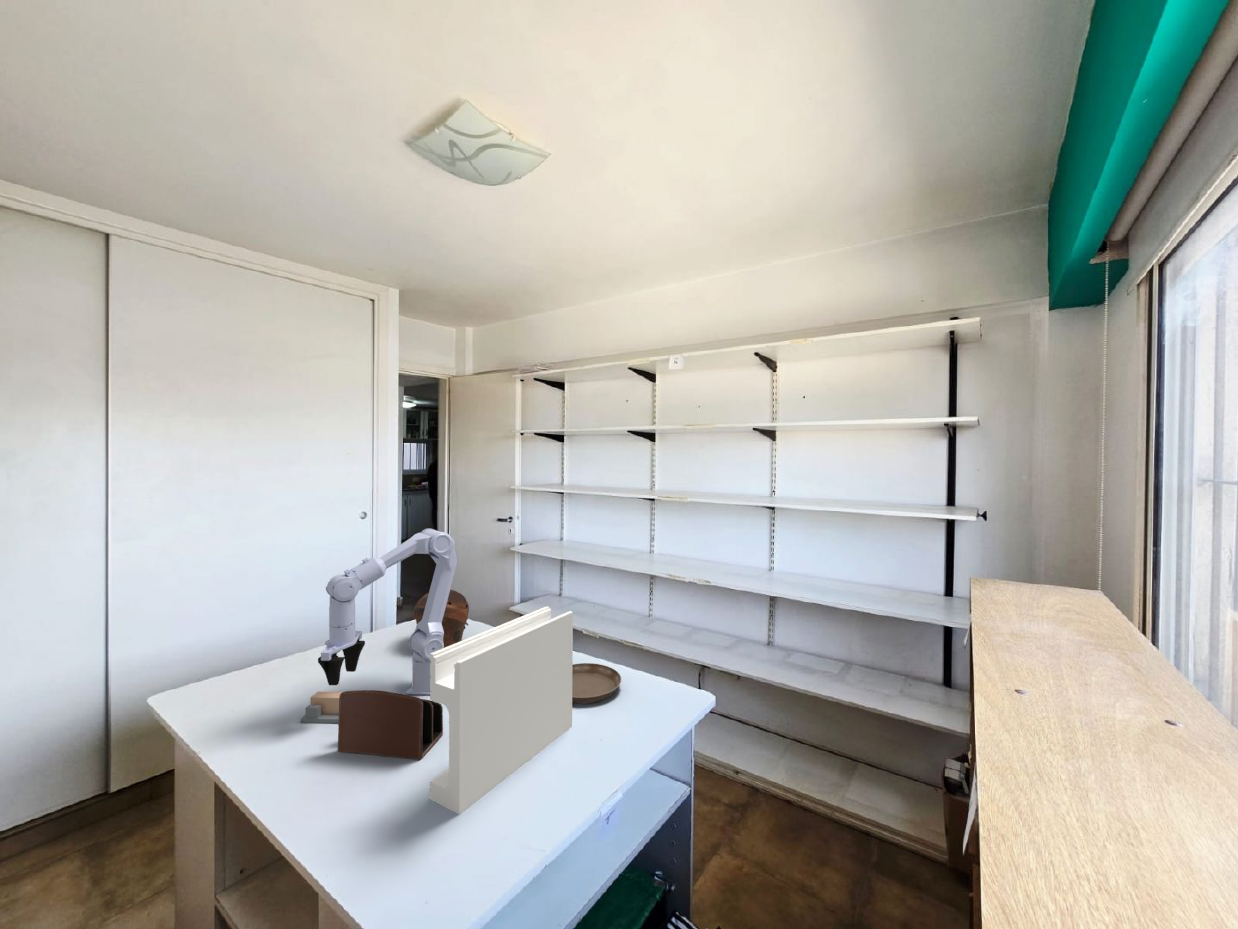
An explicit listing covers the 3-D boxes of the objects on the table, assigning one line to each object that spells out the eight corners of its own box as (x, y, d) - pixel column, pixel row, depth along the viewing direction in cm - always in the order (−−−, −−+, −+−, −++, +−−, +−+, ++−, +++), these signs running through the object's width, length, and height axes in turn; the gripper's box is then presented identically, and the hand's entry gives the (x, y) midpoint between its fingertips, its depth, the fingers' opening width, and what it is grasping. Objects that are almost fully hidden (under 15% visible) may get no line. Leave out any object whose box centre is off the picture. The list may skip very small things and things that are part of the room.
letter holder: (421, 761, 109) (421, 696, 109) (336, 752, 112) (336, 689, 112) (443, 736, 119) (443, 676, 119) (365, 728, 122) (365, 670, 121)
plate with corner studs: (382, 707, 131) (382, 694, 131) (365, 724, 123) (365, 710, 123) (321, 706, 132) (321, 692, 132) (300, 722, 124) (300, 708, 124)
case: (438, 662, 159) (439, 605, 159) (400, 649, 170) (400, 595, 170) (482, 646, 174) (483, 593, 174) (444, 634, 185) (445, 585, 185)
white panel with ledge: (459, 814, 93) (459, 663, 92) (429, 799, 97) (430, 653, 96) (571, 726, 123) (572, 611, 122) (545, 717, 127) (546, 606, 127)
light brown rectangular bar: (372, 708, 129) (372, 693, 129) (366, 714, 126) (366, 698, 126) (318, 707, 129) (317, 691, 129) (310, 713, 126) (310, 697, 126)
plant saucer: (588, 716, 128) (588, 704, 128) (531, 693, 141) (531, 681, 141) (635, 687, 145) (635, 675, 145) (580, 668, 157) (581, 657, 157)
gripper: (343, 614, 134) (343, 665, 135) (308, 633, 120) (308, 690, 120) (369, 614, 134) (369, 665, 134) (337, 634, 120) (337, 691, 120)
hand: (342, 677), depth 127 cm, fingers open, 7 cm apart
